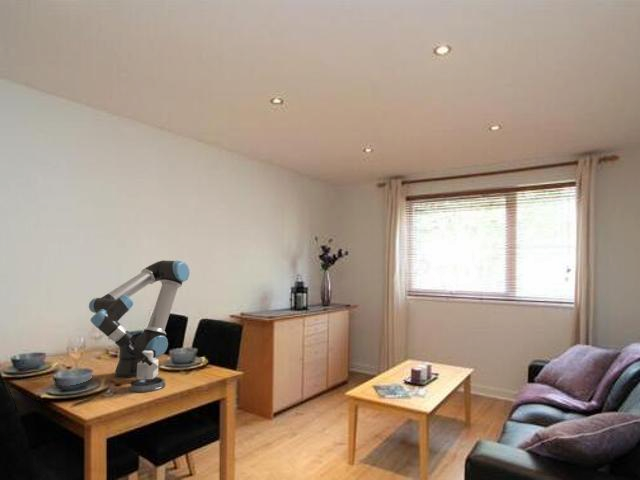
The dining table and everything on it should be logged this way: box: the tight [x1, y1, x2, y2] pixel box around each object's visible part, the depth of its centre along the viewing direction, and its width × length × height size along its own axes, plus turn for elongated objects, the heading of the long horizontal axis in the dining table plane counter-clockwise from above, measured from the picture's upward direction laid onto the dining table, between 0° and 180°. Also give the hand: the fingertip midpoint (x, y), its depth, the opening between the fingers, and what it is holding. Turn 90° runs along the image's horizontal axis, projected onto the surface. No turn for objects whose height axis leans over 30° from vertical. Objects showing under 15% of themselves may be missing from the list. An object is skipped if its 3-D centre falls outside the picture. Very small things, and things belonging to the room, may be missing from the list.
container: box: [136, 349, 159, 379], centre depth 191 cm, size 8×8×13 cm
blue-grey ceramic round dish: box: [129, 376, 166, 393], centre depth 191 cm, size 16×16×3 cm
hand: (154, 366), depth 192 cm, fingers closed on container, 10 cm apart
